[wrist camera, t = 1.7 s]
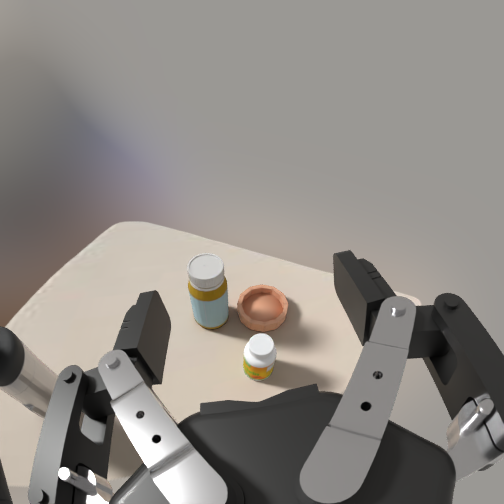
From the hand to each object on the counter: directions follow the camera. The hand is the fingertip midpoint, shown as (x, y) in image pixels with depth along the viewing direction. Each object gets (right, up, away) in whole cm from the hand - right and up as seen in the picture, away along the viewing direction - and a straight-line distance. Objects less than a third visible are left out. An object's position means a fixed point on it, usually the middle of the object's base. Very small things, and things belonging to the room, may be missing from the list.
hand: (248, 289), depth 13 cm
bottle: (-8, -12, +45) cm, 48 cm away
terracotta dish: (+2, -11, +47) cm, 48 cm away
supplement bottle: (+1, -20, +37) cm, 42 cm away
